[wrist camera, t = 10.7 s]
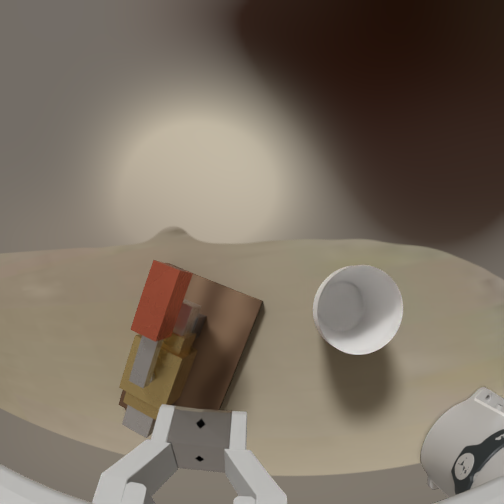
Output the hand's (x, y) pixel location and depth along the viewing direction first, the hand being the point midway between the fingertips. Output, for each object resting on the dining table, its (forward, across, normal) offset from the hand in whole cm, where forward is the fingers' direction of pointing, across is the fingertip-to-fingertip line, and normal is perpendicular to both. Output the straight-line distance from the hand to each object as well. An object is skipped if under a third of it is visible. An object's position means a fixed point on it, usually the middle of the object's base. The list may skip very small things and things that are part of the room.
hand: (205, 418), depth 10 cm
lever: (+20, +8, +11) cm, 24 cm away
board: (+26, +7, +21) cm, 34 cm away
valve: (+25, +8, +20) cm, 33 cm away
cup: (+28, -14, +12) cm, 34 cm away
